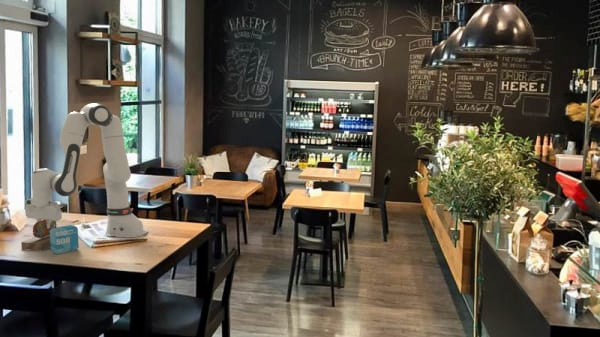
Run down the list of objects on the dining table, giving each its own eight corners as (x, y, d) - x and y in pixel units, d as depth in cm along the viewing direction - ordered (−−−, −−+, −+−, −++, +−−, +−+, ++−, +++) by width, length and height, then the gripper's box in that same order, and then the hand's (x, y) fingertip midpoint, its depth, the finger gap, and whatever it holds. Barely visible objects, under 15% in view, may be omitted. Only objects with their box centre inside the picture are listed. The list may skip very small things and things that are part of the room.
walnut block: (67, 240, 314) (67, 233, 313) (43, 251, 295) (42, 243, 294) (47, 239, 317) (46, 232, 316) (21, 250, 297) (21, 242, 297)
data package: (55, 254, 288) (53, 230, 286) (50, 253, 291) (49, 228, 289) (79, 249, 297) (77, 225, 295) (74, 247, 300) (73, 224, 298)
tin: (36, 240, 298) (37, 223, 296) (31, 239, 299) (31, 222, 297) (56, 232, 312) (57, 217, 311) (51, 231, 313) (52, 216, 311)
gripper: (63, 201, 302) (65, 228, 304) (31, 198, 309) (33, 224, 311) (54, 203, 296) (56, 231, 298) (22, 200, 303) (24, 227, 305)
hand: (44, 227), depth 304 cm, fingers closed on tin, 3 cm apart
